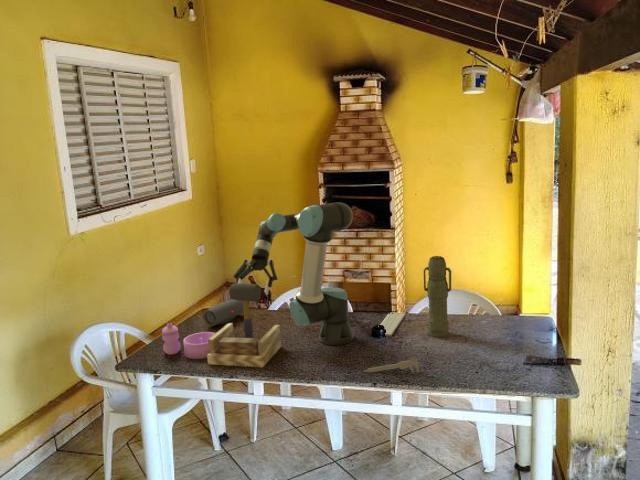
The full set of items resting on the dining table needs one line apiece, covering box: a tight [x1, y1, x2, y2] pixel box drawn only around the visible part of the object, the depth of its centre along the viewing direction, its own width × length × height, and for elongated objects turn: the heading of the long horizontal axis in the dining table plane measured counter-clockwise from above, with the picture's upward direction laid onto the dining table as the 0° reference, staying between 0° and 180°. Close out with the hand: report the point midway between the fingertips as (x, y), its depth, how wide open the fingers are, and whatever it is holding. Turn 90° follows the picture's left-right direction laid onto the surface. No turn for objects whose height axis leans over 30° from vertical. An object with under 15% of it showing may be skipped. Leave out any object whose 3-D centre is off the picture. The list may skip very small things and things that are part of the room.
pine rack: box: [206, 322, 282, 368], centre depth 234 cm, size 24×22×10 cm
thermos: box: [423, 255, 452, 339], centre depth 242 cm, size 9×12×35 cm
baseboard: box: [379, 309, 406, 337], centre depth 262 cm, size 30×3×10 cm
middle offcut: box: [220, 348, 259, 356], centre depth 229 cm, size 16×5×3 cm, turn 76°
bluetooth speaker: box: [203, 298, 244, 327], centre depth 280 cm, size 23×9×10 cm, turn 148°
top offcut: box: [219, 337, 261, 350], centre depth 229 cm, size 16×5×3 cm, turn 78°
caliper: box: [364, 356, 420, 374], centre depth 209 cm, size 20×1×6 cm, turn 81°
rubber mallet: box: [228, 282, 262, 338], centre depth 237 cm, size 12×8×30 cm, turn 70°
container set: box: [161, 322, 216, 360], centre depth 241 cm, size 25×15×13 cm, turn 84°
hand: (251, 293), depth 243 cm, fingers open, 13 cm apart
